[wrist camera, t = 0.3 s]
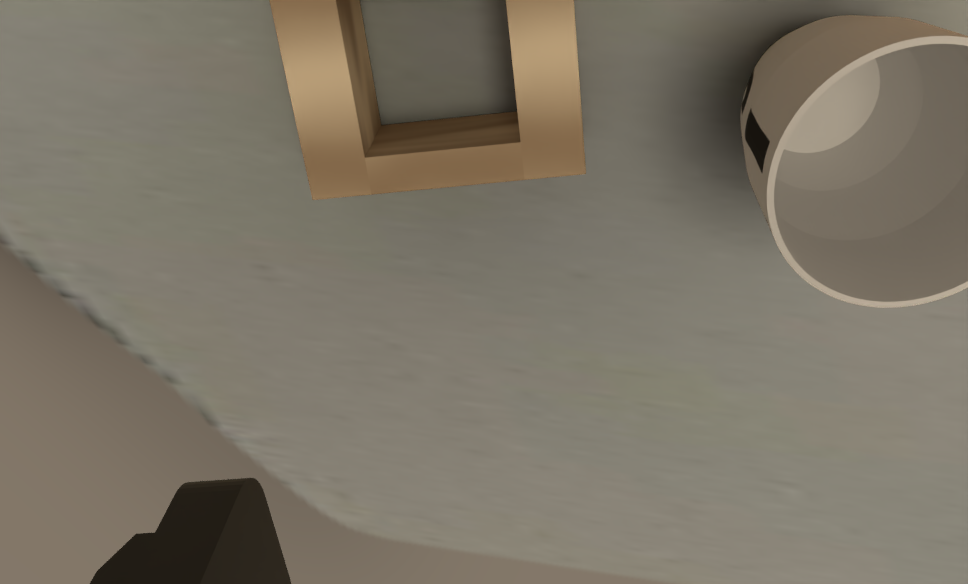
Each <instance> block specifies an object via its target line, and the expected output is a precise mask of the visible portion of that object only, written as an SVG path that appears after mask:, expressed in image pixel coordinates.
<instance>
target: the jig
mask: <svg viewBox="0 0 968 584" xmlns="http://www.w3.org/2000/svg"><path fill="white" fill-rule="evenodd" d="M270 5H271V9H272V14H273V19H274V23H275V28H276V33H277V37H278V42H279V46H280V51H281V56H282V60H283V65H284V70H285V74H286V79H287V83H288V88H289V93H290V97H291V102H292V107H293V111H294V116H295V120H296V125H297V130H298V134H299V139H300V144H301V148H302V153H303V157H304V162H305V167H306V171H307V176H308V181H309V185H310V190H311V195H312V199H313V200H318V199H328V198H339V197H349V196H360V195H370V194H381V193H391V192H402V191H412V190H423V189H433V188H444V187H454V186H465V185H475V184H486V183H496V182H507V181H517V180H527V179H538V178H548V177H559V176H569V175H580V174H586V168H585V154H584V140H583V126H582V112H581V98H580V84H579V69H578V55H577V41H576V27H575V13H574V0H506V6H507V16H508V25H509V35H510V45H511V54H512V64H513V74H514V83H515V93H516V103H517V111H516V112H506V113H496V114H486V115H477V116H467V117H457V118H447V119H438V120H428V121H418V122H408V123H399V124H389V125H381V121H380V116H379V110H378V104H377V98H376V92H375V87H374V81H373V75H372V69H371V64H370V58H369V52H368V46H367V41H366V35H365V29H364V23H363V17H362V12H361V6H360V0H270Z"/></svg>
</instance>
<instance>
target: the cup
mask: <svg viewBox="0 0 968 584" xmlns="http://www.w3.org/2000/svg"><path fill="white" fill-rule="evenodd" d="M740 125H741V134H742V141H743V148H744V155H745V162H746V169H747V174H748V177H749V181H750V184H751V186H752V189H753V191H754V193H755V196H756V198H757V200H758V202H759V205H760V207H761V209H762V212H763V214H764V216H765V218H766V221H767V223H768V225H769V228H770V230H771V232H772V234H773V237H774V239H775V241H776V243H777V246H778V248H779V249H780V251H781V253H782V255H783V256H784V258H785V259H786V261H787V262H788V263H789V265H790V266H791V267H792V268H793V269H794V270H795V271H796V272H797V274H798V275H800V276H801V277H802V278H803V279H804V280H805V281H807V282H808V283H809V284H811V285H812V286H813V287H815V288H816V289H818V290H820V291H822V292H823V293H825V294H827V295H829V296H832V297H834V298H837V299H839V300H842V301H845V302H849V303H853V304H857V305H862V306H869V307H883V308H891V307H905V306H913V305H918V304H923V303H927V302H931V301H935V300H938V299H941V298H944V297H947V296H950V295H952V294H955V293H957V292H959V291H961V290H964V289H966V288H968V36H965V35H962V34H959V33H956V32H952V31H949V30H946V29H943V28H940V27H936V26H933V25H930V24H927V23H924V22H920V21H917V20H913V19H908V18H900V17H881V16H857V15H843V16H834V17H829V18H824V19H821V20H817V21H814V22H812V23H809V24H807V25H805V26H803V27H801V28H798V29H796V30H794V31H792V32H790V33H788V34H787V35H785V36H783V37H782V38H780V39H779V40H778V41H776V42H775V43H774V44H773V45H772V46H771V47H770V48H769V49H768V50H767V51H766V52H765V53H764V54H763V55H762V57H761V58H760V60H759V61H758V63H757V64H756V66H755V68H754V70H753V72H752V75H751V77H750V80H749V82H748V84H747V87H746V90H745V93H744V96H743V100H742V106H741V115H740Z"/></svg>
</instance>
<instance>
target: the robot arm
mask: <svg viewBox="0 0 968 584" xmlns="http://www.w3.org/2000/svg"><path fill="white" fill-rule="evenodd" d="M90 584H291V582H290V577H289V574H288V570H287V568H286V564H285V560H284V557H283V554H282V550H281V547H280V544H279V541H278V537H277V534H276V531H275V527H274V524H273V521H272V517H271V514H270V511H269V507H268V504H267V501H266V497H265V494H264V492H263V489H262V487H261V485H260V483H259V482H258V481H257V480H256V479H254V478H243V479H230V480H229V479H228V480H215V481H200V482H188V483H185V484H183V485H182V486H181V487H180V488H179V489H178V490H177V492H176V494H175V496H174V498H173V499H172V501H171V503H170V505H169V507H168V509H167V511H166V513H165V515H164V517H163V519H162V521H161V522H160V524H159V527H158V528H157V530H156V532H155V533H143V534H136V535H135V536H134V537H132V539H130V540H129V541H128V542H127V543H126V544H125V545H124V546H123V547H122V548H121V549H120V550H119V551H118V552H117V553H116V554H114V555H113V556H112V558H110V559H109V560H108V561H107V562H106V563H105V564H104V565H103V566H102V567H101V568H100V569H99V570H98V571H97V572H96V574H95V576H94V577H93V579H92V581H91V583H90Z"/></svg>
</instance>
